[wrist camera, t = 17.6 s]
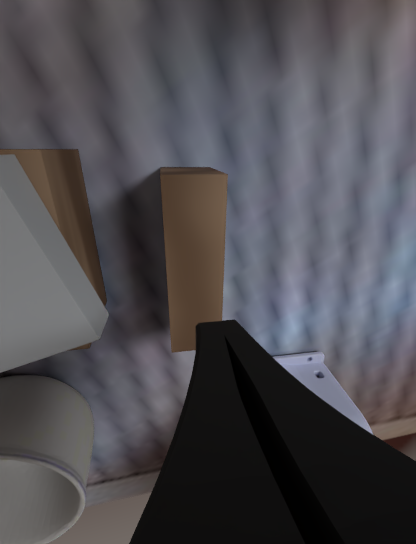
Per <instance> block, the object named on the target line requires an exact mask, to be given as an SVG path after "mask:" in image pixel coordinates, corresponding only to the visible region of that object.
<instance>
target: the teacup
mask: <svg viewBox="0 0 416 544" xmlns="http://www.w3.org/2000/svg"><path fill="white" fill-rule="evenodd" d="M93 438H94V419H93V415H92V411H91V408H90V406H89V404H88V403H87V401H86V400H85V399H84V397H83V396H82V395H81V394H80V393H79V392H78V391H76V390H75V389H74V388H72V387H70V386H69V385H67V384H65V383H63V382H61V381H58V380H56V379H53V378H49V377H45V376H39V375H17V376H8V377H3V378H0V544H48V543H50V542H52V541H53V540H55V539H57V538H59V537H60V536H61V535H62V534H64V533H65V532H66V531H67V530H69V529H70V528H71V527H72V526H73V525H74V524H75V523H76V522H77V520H78V519H79V517H80V516H81V514H82V512H83V510H84V507H85V502H86V485H87V479H88V474H89V468H90V461H91V454H92V447H93Z"/></svg>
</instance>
